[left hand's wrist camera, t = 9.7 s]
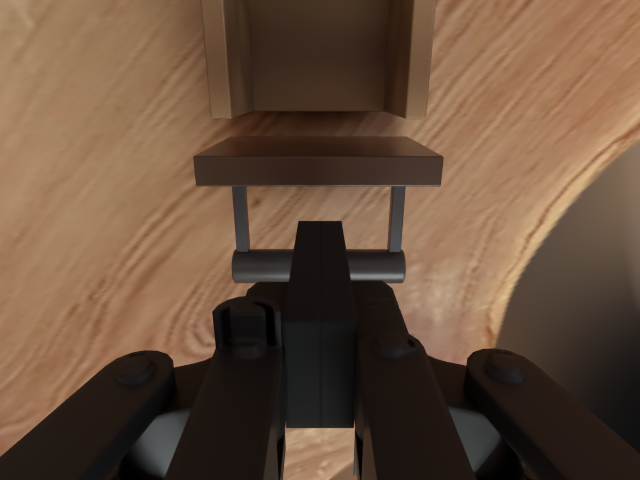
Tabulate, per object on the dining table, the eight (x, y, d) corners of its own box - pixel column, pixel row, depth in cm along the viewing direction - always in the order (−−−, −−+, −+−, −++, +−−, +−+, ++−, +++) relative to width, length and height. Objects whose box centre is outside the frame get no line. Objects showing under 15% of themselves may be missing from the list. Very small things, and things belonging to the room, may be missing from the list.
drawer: (398, 255, 25) (427, 316, 18) (238, 255, 25) (209, 316, 18) (442, -340, 16) (527, -639, 9) (195, -340, 16) (108, -639, 9)
